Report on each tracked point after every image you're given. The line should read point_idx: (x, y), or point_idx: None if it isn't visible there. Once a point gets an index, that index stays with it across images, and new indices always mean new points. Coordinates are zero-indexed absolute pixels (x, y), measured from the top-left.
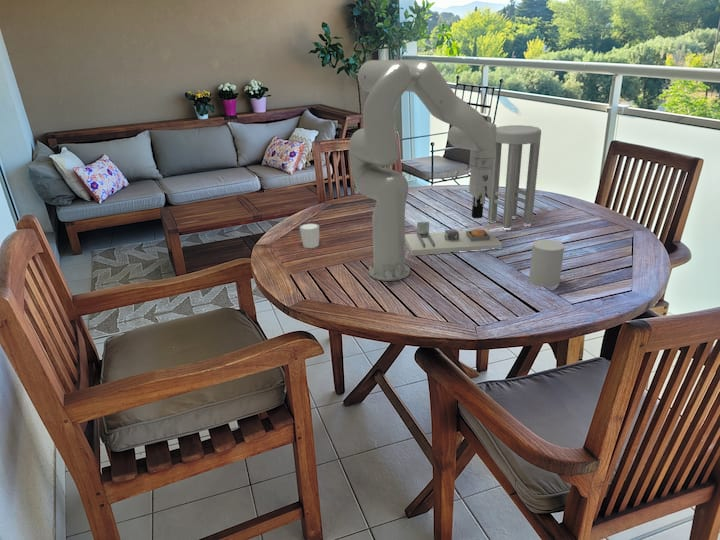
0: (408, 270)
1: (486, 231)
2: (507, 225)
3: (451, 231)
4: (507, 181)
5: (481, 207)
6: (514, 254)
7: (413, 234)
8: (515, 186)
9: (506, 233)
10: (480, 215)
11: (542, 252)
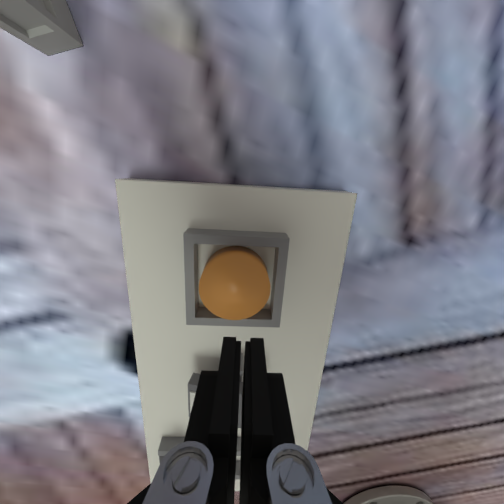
0: (414, 499)
1: (155, 203)
2: (44, 10)
3: (240, 415)
4: None
5: (297, 452)
6: (413, 154)
7: (153, 471)
8: None
9: (121, 60)
10: (280, 373)
11: None
